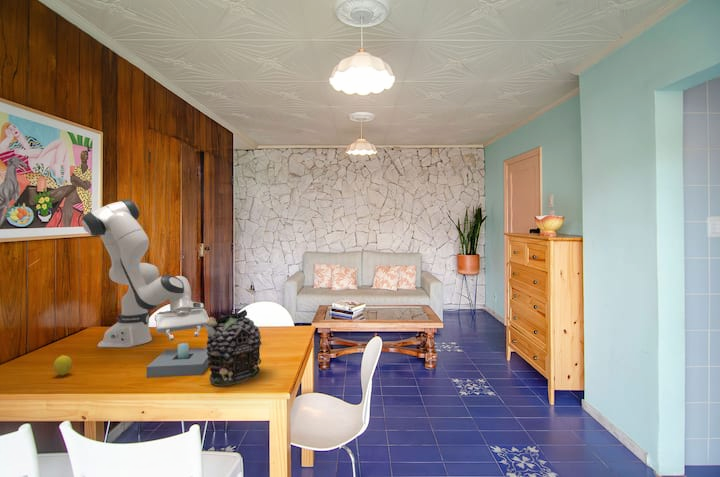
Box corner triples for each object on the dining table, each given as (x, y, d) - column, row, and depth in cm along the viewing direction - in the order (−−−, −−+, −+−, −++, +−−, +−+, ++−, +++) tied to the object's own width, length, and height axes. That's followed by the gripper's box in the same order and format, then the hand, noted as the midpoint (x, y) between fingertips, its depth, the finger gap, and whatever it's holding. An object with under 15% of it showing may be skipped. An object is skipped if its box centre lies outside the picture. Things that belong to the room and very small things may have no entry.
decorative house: (218, 392, 130) (217, 319, 129) (198, 380, 140) (197, 312, 139) (270, 375, 145) (270, 309, 144) (249, 365, 155) (248, 304, 154)
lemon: (60, 373, 147) (59, 352, 147) (75, 372, 147) (75, 352, 147) (50, 379, 141) (49, 357, 141) (65, 378, 142) (65, 357, 142)
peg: (176, 368, 152) (176, 346, 151) (179, 364, 156) (179, 343, 155) (187, 368, 152) (186, 345, 152) (190, 364, 156) (189, 342, 156)
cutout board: (146, 377, 143) (146, 366, 143) (166, 359, 163) (166, 349, 162) (202, 374, 145) (202, 364, 145) (215, 356, 165) (215, 347, 165)
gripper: (154, 308, 158) (155, 338, 150) (207, 303, 168) (210, 330, 160) (154, 316, 162) (155, 346, 154) (206, 311, 172) (209, 338, 164)
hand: (184, 338), depth 157 cm, fingers open, 8 cm apart
